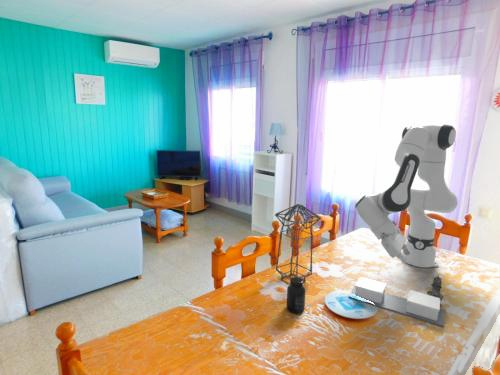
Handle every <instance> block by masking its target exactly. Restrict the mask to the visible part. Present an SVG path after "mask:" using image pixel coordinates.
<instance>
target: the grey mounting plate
mask: <svg viewBox="0 0 500 375" xmlns="http://www.w3.org/2000/svg"><path fill="white" fill-rule="evenodd" d="M352 288H353V289H352V290H351V292H350V293H352V294H355V295H356V296H359V297H361V298H364V299H366V300H369V301H371V302H373V303H374V304H375V305H376V306H375V307H378V308H381V309H384V310H388V311H389V312H393V313H396V314H400V315H402V316H406V317H410V318H413V319H416V320H419V321H422V322H426V323H430V324H432V325H435V326H438V327H442V328H444V318H445V316H444V315H445V309H443V308H441V306H440V303H441V302H440V298H437V297H433V296H430V295H427V293H426V294H425V293H423V292H418V291H414V290H412V289H411V290H409V293H408V296H407V298H406V297H402V296H400V295H399V296H398V295H395V294H391V293H388V292H386V288H387V282H381V281H377V280H375V279H370V278H366V277H363V276H360V277H359V278H358V280H357V282H356V283H355V286H354V287H352Z"/></svg>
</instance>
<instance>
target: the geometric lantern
mask: <svg viewBox="0 0 500 375" xmlns="http://www.w3.org/2000/svg"><path fill="white" fill-rule="evenodd" d="M295 214H296V218H295V221H294V220H291V219H292V218H293V217H294V215H295ZM299 214H300V217H301V218H303V220H302V219H300V222H298V221H299ZM311 214H312V215H311ZM287 216H288V218H287ZM305 216H306V218H305ZM274 217H276V219H277V220H278V221H279V222H280V223H281V225H282V226H281V229H280V232H279V240H278V249H277V257H276V258H277V259H276V265H275V271H277V272H278V274H279V275H280V276H281V277H280V280H281V281H282V282H284V283H285V284H287V285H290V282H287V281H286V280H284V279H287V280H290V279H291V278H292V276H294V277H299V278H302V279H303V283H305V282H306V278H307V277H310V276H311V275H312V274H313V241H314V234H313V226H314V225H315V224H317V223H318V222H319V221H321V220H322V219H323V218H322V217H321V216H320V215H319V214H316V213H315V212H314V211H312V210H311V209H309V208H308V207H306V206H304V204H300V203H296V204H295V205H292V206H291V207H288V208H286V209H283V210H281V211H278V212H276V213H275V214H274ZM315 218H316V219H315ZM308 220H309V221H308ZM288 222H289V224H288ZM285 223H286V224H285ZM296 224H299V225H301V226H300V227H299V228H296V227H295V225H296ZM308 225H309V226H308ZM291 226H292V227H293V228H291ZM284 227H287V228H288V229H286V230H284ZM302 228H303V229H302ZM308 229H309V230H310V231H309V232H308V231H305V230H308ZM292 231H294V232H292ZM296 231H298V232H297V236H296ZM285 232H290V234H291V236H289V235H288V234H285ZM302 232H304V233H306V234H309V236H306V237H300V235H301V234H302ZM283 235H284V236H286V237H288V238H290V239H292V246H291V247H292V248H291V255H290V256H291V257H290V262H289V263H286V264H282V265H280V266H279V258H280V251H281V244H282V238H283ZM308 238H310V264H309V265H310V267H309V268H307V267H305V266H303V265H301V264H300V263H299V245H300V244H299V243H300V240H304V239H308ZM296 240H297V241H296ZM295 241H296V260H295V262H293V260H294V259H293V258H294V247H295ZM288 265H290V268H289V270H287V272H282V271H281V270H279V269H278V268H282V267H286V266H288ZM293 265H295V266H294V268H293ZM299 267H301V268H303V269H305V270H307V271H308V272H307V273H306V274H302V273H300V272H298V269H299ZM292 268H293V269H292ZM288 273H289V274H288ZM298 275H301V276H298Z"/></svg>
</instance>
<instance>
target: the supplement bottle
mask: <svg viewBox="0 0 500 375" xmlns="http://www.w3.org/2000/svg"><path fill="white" fill-rule="evenodd" d="M299 277H300V276H299ZM299 277H296V276H293V277H291V279H290V278H289V279H290V281H289V284H288V286H287V288H286V310H287V311H288V312H289V313H290V314H293V315H294V314H295V315H298V314H299V315H300V314H302V313H303V312H305V310H306V308H305V306H306V291H307V290H306V287H305V285H304V282H303V281H304V280H303V279H304V278H303V277H301V278H299ZM302 278H303V279H302Z"/></svg>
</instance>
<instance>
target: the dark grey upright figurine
mask: <svg viewBox="0 0 500 375" xmlns="http://www.w3.org/2000/svg"><path fill="white" fill-rule="evenodd" d="M442 282H443V279H442V278H441V277H440V275H439V274H438V275H437V276H434V277H433V278H432V283H431V284H430V285H431V289H430V290H428V291H427V292H426V295H430V296H433V297H437V298H440V307H441V306H442V303H441V302H442V300H443V299H444V295H443V294H442V293H441V289H442V288H443V287H442Z"/></svg>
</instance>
